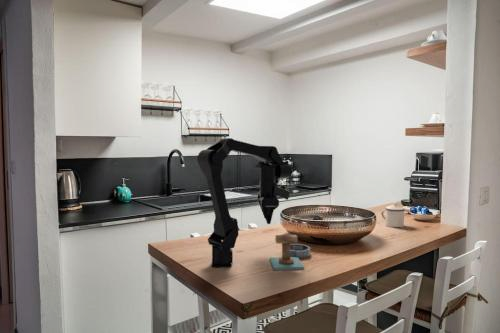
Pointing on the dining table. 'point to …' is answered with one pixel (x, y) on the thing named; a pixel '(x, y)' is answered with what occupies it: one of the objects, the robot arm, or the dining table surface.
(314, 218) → the lighter
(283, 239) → the t key
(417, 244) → the dining table surface
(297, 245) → the ring socket
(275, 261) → the rubber mat
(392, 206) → the teacup with lid
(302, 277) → the dining table surface
